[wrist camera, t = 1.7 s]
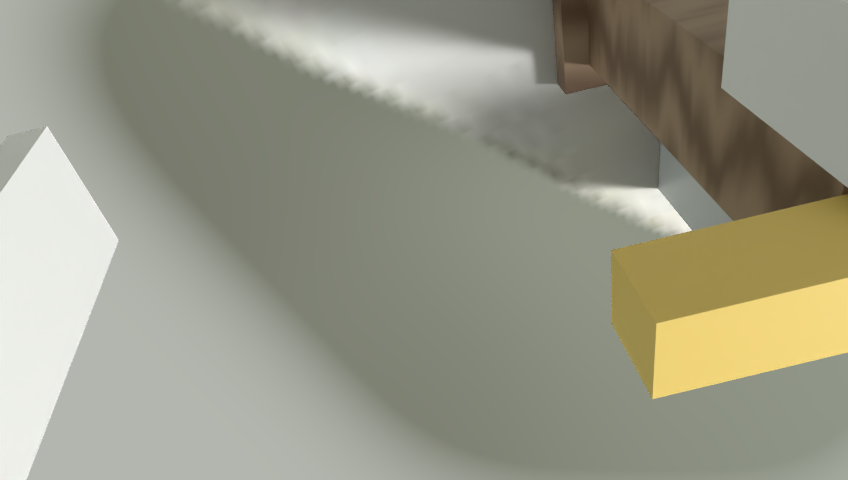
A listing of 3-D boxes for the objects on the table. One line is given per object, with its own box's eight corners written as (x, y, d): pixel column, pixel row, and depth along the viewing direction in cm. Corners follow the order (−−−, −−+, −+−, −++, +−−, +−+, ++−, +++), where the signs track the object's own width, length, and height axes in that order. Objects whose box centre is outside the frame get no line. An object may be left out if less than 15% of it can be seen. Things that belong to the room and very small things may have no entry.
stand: (548, -72, 46) (838, 133, 21) (795, -130, 46) (1376, 5, 21) (558, 84, 53) (781, 373, 28) (770, 33, 53) (1180, 277, 28)
